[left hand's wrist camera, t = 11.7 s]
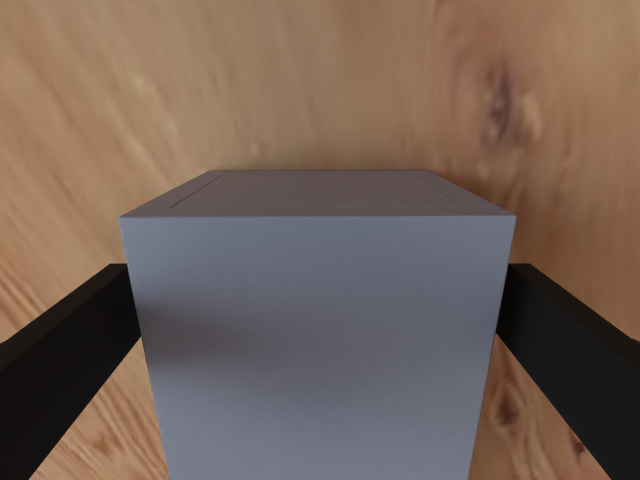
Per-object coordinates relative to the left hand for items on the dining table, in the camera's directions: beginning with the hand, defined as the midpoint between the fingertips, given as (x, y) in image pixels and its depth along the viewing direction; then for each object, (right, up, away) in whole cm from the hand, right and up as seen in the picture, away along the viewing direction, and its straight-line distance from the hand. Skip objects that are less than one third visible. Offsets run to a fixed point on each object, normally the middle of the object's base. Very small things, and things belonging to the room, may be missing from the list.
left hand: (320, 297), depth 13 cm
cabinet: (0, -3, +8) cm, 8 cm away
